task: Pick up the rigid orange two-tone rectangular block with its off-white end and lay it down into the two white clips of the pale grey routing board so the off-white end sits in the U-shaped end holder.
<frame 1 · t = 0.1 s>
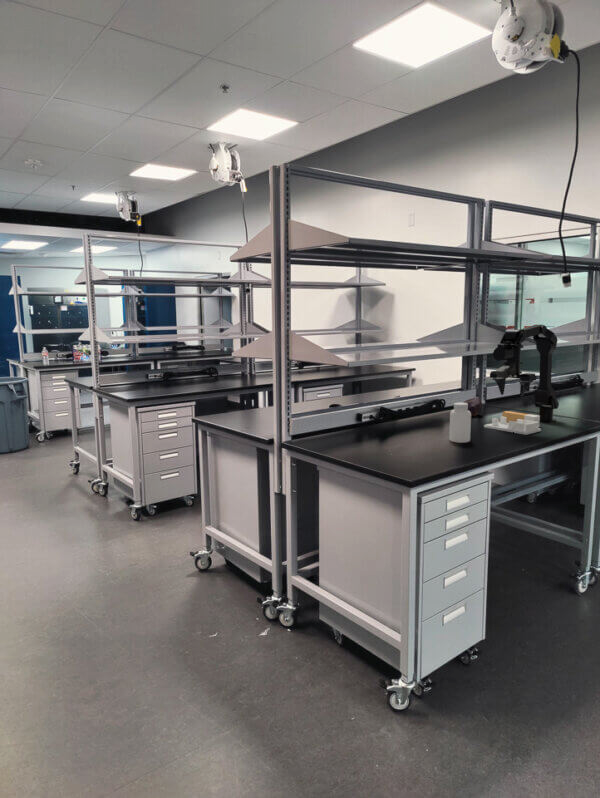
hand: (511, 395, 229), 15 cm above the workbench, fingers open, 9 cm apart
two-tone rectangular block: (517, 424, 241), on the workbench
pill bottle: (459, 441, 213), on the workbench
rock: (471, 416, 263), on the workbench
routing board: (509, 428, 232), on the workbench
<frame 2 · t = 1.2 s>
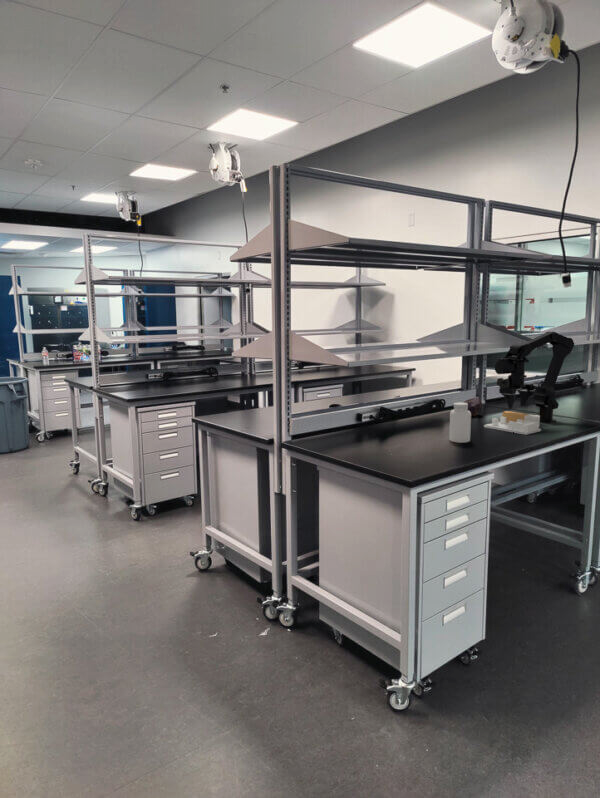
hand: (516, 407, 240), 7 cm above the workbench, fingers open, 9 cm apart
nothing on the workbench moved.
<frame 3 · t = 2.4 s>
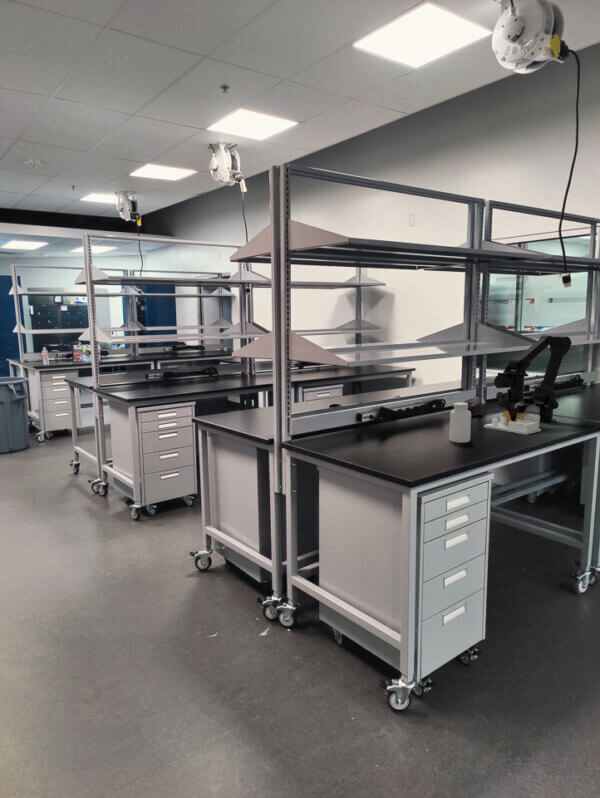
hand: (515, 421, 241), 1 cm above the workbench, fingers closed on two-tone rectangular block, 3 cm apart
two-tone rectangular block: (517, 424, 241), on the workbench, touching gripper
everything else where it was.
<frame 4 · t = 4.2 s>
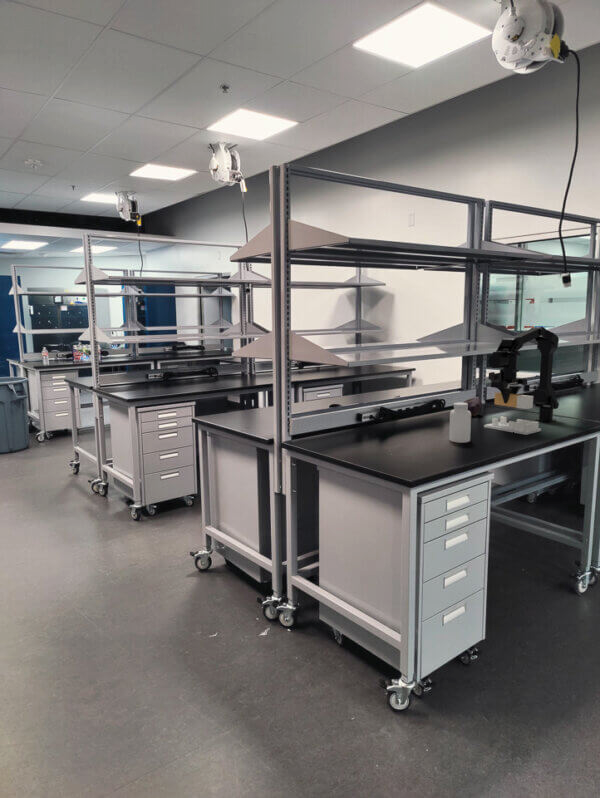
hand: (508, 402, 232), 11 cm above the workbench, fingers closed on two-tone rectangular block, 3 cm apart
two-tone rectangular block: (510, 405, 231), point 10 cm above the workbench, touching gripper
everything else where it was.
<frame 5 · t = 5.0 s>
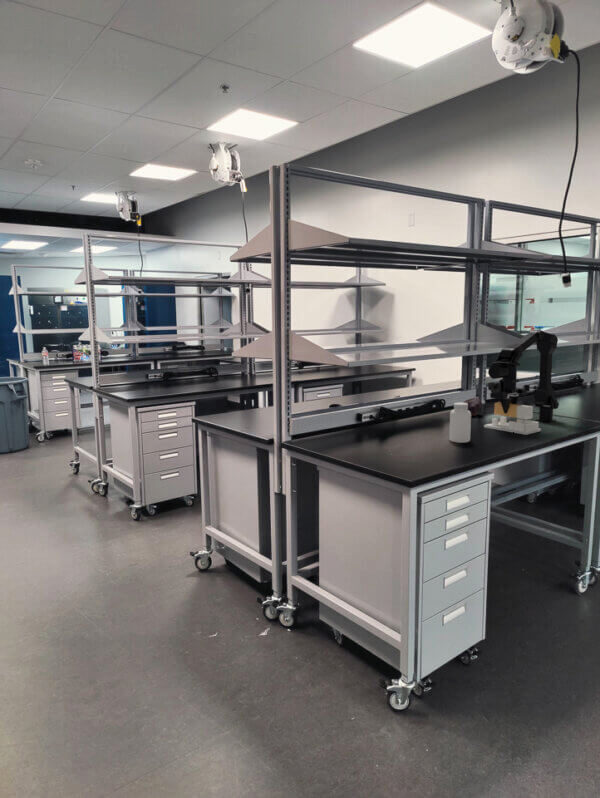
hand: (508, 412, 232), 7 cm above the workbench, fingers closed on two-tone rectangular block, 3 cm apart
two-tone rectangular block: (509, 415, 232), point 6 cm above the workbench, touching gripper
everything else where it was.
when the fingers open (3 cm above the workbench, at t = 5.9 s): two-tone rectangular block stays where it is, resting on routing board.
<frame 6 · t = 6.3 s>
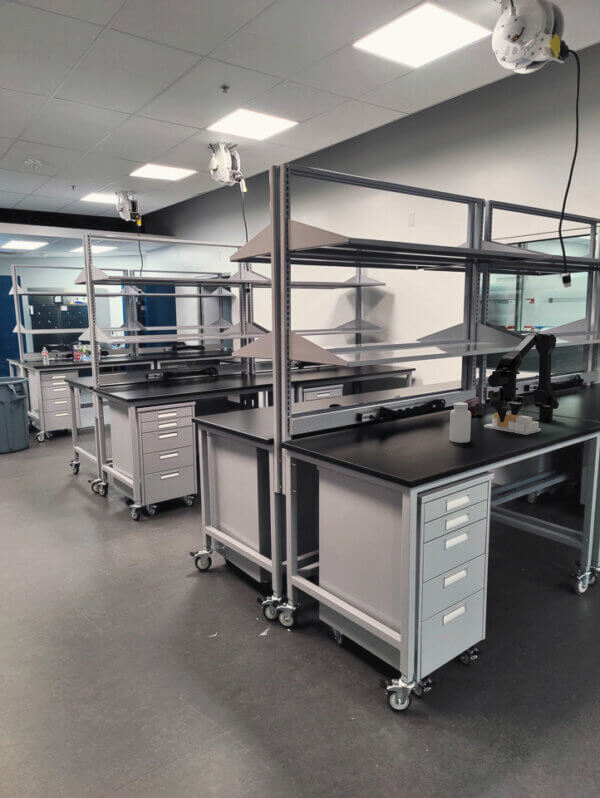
hand: (507, 421, 233), 3 cm above the workbench, fingers open, 8 cm apart
two-tone rectangular block: (509, 426, 232), point 1 cm above the workbench, touching routing board
everything else where it was.
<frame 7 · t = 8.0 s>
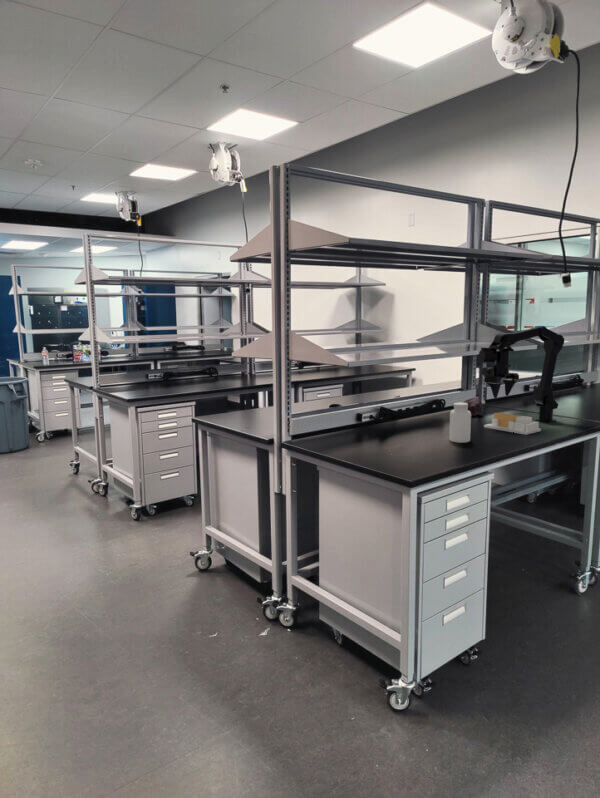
hand: (501, 396, 241), 12 cm above the workbench, fingers open, 9 cm apart
nothing on the workbench moved.
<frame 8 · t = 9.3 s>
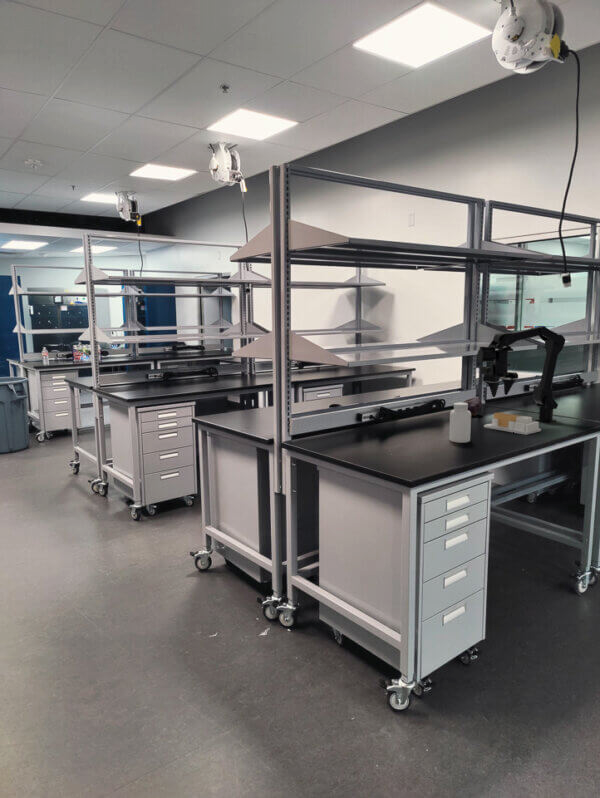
hand: (499, 395, 242), 13 cm above the workbench, fingers open, 9 cm apart
nothing on the workbench moved.
at the end: two-tone rectangular block 0.1 cm off-centre on the routing board, point 1.0 cm above the routing board's base; two-tone rectangular block tilted 0°; the gripper is holding nothing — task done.
